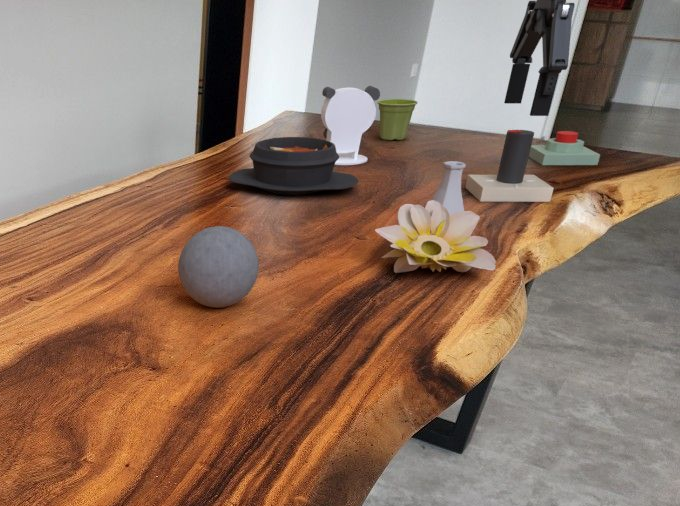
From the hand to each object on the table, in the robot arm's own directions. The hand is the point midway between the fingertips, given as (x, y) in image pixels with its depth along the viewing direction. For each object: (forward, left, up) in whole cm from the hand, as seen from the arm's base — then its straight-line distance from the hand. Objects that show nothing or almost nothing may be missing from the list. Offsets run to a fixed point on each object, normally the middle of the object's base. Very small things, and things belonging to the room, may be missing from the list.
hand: (525, 109), depth 126 cm
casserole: (+39, -4, -15) cm, 42 cm away
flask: (+16, +20, -15) cm, 30 cm away
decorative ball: (+52, +55, -15) cm, 77 cm away
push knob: (-20, -29, -11) cm, 37 cm away
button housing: (-20, -29, -15) cm, 38 cm away
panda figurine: (+26, -30, -15) cm, 42 cm away
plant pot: (+11, -54, -15) cm, 57 cm away
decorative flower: (+23, +42, -15) cm, 50 cm away
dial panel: (0, 0, -15) cm, 15 cm away
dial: (0, 0, -12) cm, 12 cm away
